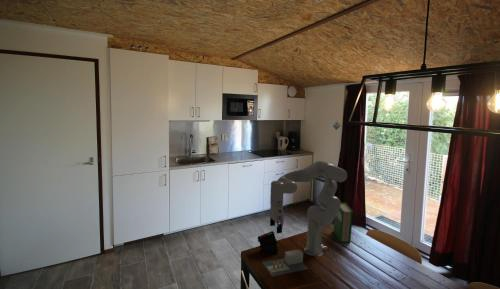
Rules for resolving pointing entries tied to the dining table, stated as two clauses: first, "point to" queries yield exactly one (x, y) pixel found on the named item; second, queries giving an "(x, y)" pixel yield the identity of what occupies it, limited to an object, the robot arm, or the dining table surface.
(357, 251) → the dining table surface
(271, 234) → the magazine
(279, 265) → the board
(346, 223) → the hardback book
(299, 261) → the plug
